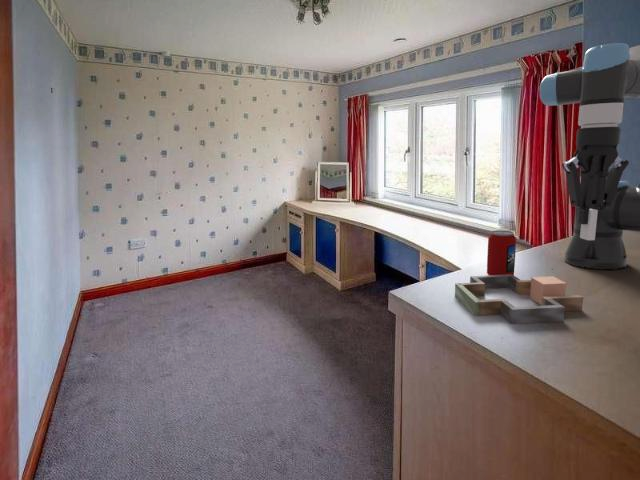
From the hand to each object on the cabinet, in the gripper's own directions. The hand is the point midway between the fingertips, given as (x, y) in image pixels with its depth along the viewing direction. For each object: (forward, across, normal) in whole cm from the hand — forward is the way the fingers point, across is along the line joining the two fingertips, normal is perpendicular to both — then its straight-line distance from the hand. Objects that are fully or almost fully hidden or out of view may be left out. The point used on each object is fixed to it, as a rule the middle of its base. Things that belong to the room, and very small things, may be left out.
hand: (587, 238), depth 91 cm
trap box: (+14, +15, 0) cm, 20 cm away
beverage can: (+14, +10, -19) cm, 26 cm away
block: (+14, +8, 0) cm, 16 cm away
